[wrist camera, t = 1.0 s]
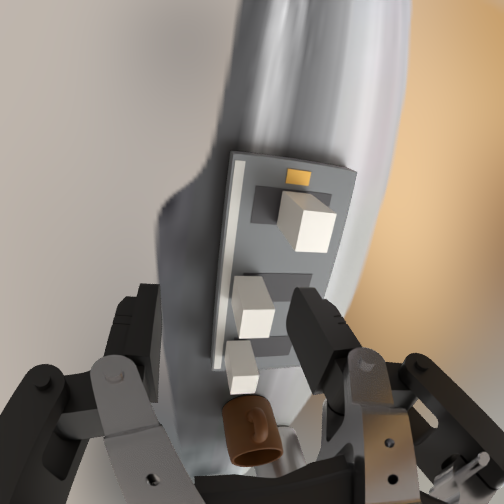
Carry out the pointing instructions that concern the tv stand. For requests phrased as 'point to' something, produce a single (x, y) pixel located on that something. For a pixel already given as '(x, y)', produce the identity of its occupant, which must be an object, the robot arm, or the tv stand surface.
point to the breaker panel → (272, 245)
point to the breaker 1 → (252, 307)
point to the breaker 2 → (241, 367)
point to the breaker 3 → (305, 222)
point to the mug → (251, 431)
